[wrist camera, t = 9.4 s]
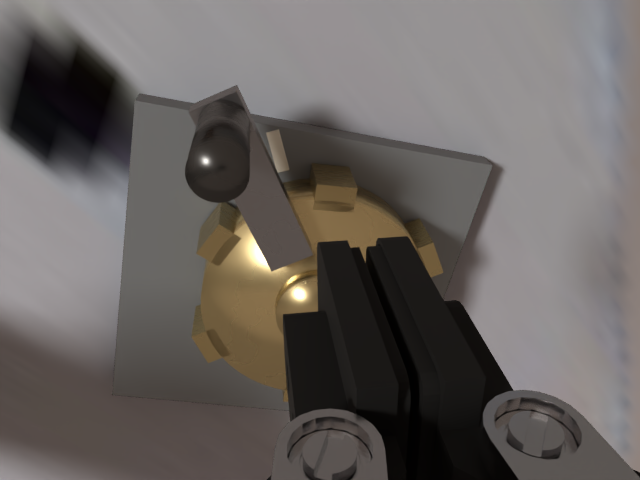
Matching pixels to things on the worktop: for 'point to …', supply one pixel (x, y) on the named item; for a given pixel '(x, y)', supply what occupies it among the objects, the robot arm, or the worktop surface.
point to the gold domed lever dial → (270, 237)
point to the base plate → (192, 211)
